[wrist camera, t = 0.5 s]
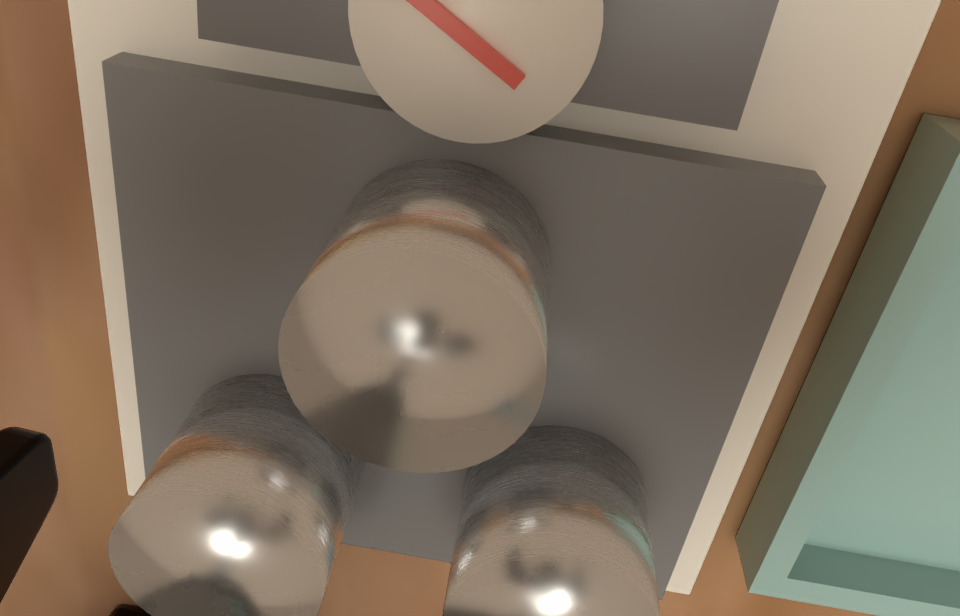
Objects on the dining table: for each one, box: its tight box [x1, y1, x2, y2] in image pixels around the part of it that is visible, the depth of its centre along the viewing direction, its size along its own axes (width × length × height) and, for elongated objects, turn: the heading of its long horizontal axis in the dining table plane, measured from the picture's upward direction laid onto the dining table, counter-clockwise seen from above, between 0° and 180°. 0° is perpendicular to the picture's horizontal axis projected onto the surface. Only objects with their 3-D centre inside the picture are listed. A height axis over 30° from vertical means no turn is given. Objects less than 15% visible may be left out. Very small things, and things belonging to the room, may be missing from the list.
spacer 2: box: [278, 159, 551, 473], centre depth 15 cm, size 4×4×4 cm
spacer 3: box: [442, 425, 660, 616], centre depth 18 cm, size 4×4×4 cm
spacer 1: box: [108, 374, 366, 616], centre depth 18 cm, size 4×4×4 cm
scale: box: [68, 0, 941, 600], centre depth 18 cm, size 17×16×4 cm
